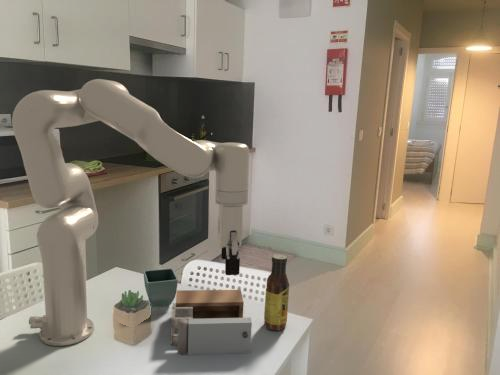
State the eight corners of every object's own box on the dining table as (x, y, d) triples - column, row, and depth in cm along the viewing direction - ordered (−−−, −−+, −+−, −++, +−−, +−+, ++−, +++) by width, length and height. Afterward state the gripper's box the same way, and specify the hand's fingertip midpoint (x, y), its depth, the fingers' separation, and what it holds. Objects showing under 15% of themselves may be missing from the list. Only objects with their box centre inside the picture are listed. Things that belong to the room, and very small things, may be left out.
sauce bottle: (285, 333, 111) (290, 262, 107) (261, 329, 112) (265, 260, 108) (287, 321, 117) (292, 254, 113) (265, 317, 118) (269, 251, 114)
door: (177, 357, 98) (177, 326, 97) (178, 349, 101) (178, 319, 100) (250, 354, 101) (252, 324, 99) (248, 346, 104) (250, 317, 102)
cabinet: (175, 327, 111) (175, 303, 109) (176, 313, 118) (176, 290, 117) (242, 325, 113) (243, 302, 112) (239, 312, 121) (240, 289, 119)
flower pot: (178, 308, 121) (178, 279, 119) (147, 312, 118) (147, 282, 116) (172, 295, 129) (172, 267, 127) (143, 298, 126) (143, 270, 124)
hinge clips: (170, 345, 103) (171, 319, 101) (172, 327, 111) (172, 303, 109) (192, 344, 103) (192, 318, 102) (192, 327, 111) (192, 302, 110)
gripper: (212, 188, 104) (212, 253, 107) (218, 205, 87) (217, 282, 91) (242, 188, 105) (240, 253, 109) (253, 205, 88) (251, 280, 92)
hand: (229, 266), depth 100 cm, fingers open, 9 cm apart
